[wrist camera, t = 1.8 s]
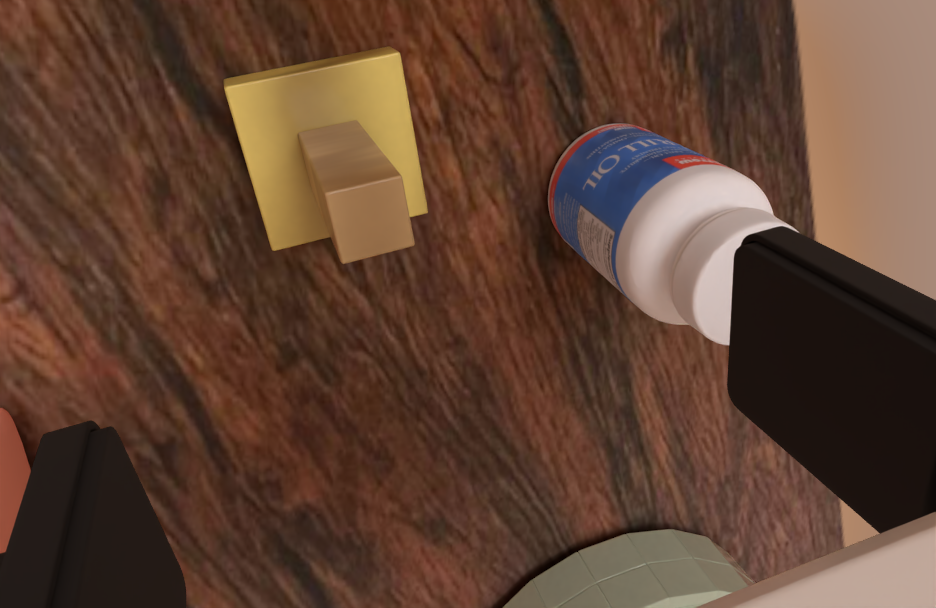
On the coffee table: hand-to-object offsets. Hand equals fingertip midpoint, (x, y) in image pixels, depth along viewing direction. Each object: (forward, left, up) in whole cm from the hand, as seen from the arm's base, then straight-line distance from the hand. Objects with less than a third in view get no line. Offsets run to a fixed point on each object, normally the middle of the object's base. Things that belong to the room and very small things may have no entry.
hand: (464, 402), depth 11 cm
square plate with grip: (0, 0, -17) cm, 17 cm away
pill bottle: (-11, +5, -17) cm, 21 cm away
